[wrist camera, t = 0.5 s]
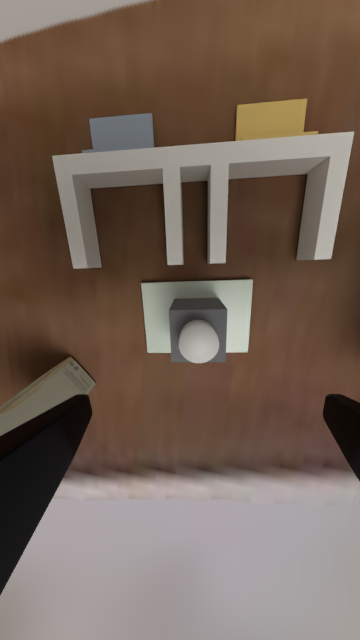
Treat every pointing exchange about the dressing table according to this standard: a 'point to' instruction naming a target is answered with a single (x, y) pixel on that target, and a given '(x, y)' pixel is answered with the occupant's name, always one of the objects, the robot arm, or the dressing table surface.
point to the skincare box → (45, 394)
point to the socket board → (206, 176)
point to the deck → (228, 291)
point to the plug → (198, 330)
